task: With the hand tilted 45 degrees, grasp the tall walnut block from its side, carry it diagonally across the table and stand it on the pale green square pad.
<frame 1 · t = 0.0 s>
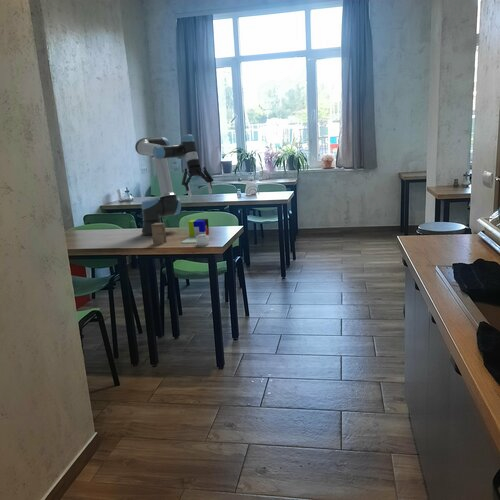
hand: (200, 194, 277), 28 cm above the table, tool tilted 20°, fingers open, 13 cm apart
walnut block: (160, 243, 283), on the table
sugar bowl: (202, 244, 272), on the table
puzzle toy: (199, 235, 300), on the table
pad: (195, 240, 284), on the table
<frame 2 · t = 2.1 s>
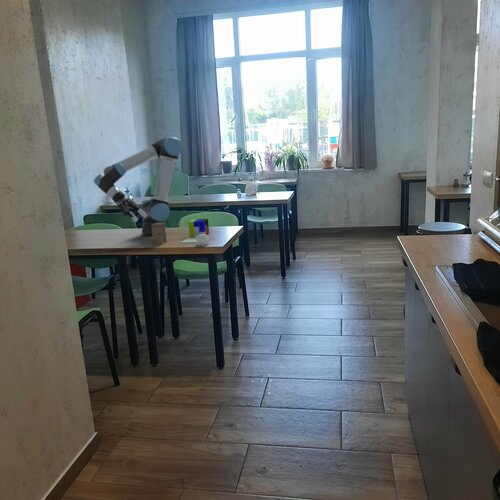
hand: (141, 218, 282), 15 cm above the table, tool tilted 45°, fingers open, 13 cm apart
nothing on the table moved.
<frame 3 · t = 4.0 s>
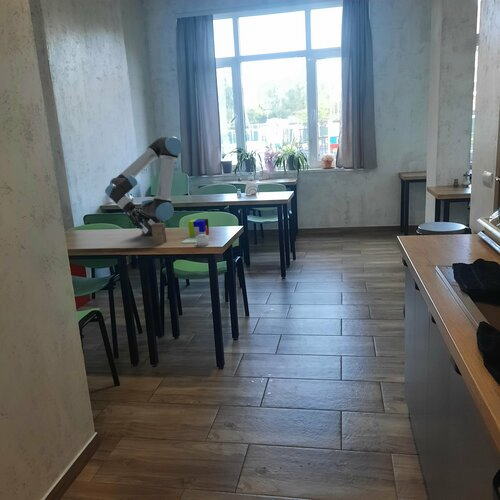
hand: (151, 229, 280), 9 cm above the table, tool tilted 45°, fingers open, 13 cm apart
nothing on the table moved.
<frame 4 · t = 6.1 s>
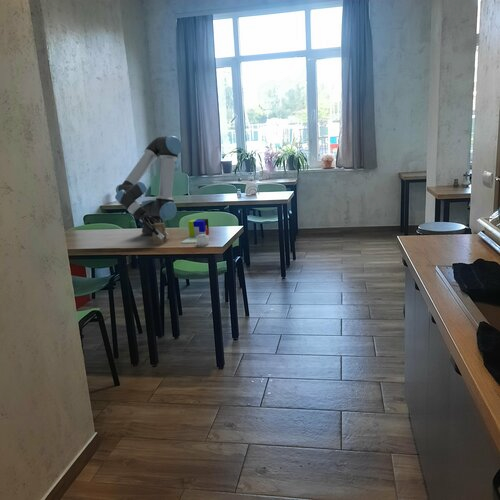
hand: (164, 236, 281), 4 cm above the table, tool tilted 45°, fingers closed on walnut block, 6 cm apart
walnut block: (160, 243, 283), on the table, touching gripper
everything else where it was.
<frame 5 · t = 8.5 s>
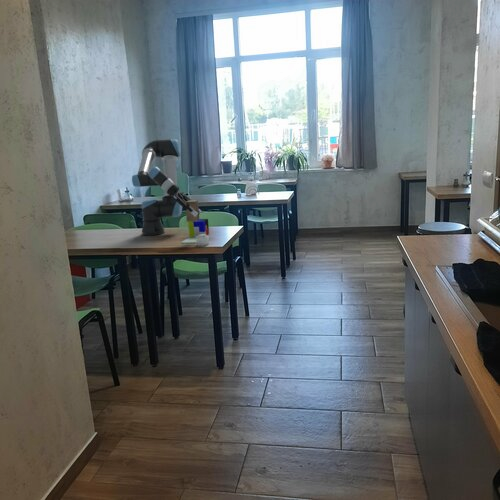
hand: (198, 214, 279), 16 cm above the table, tool tilted 45°, fingers closed on walnut block, 6 cm apart
walnut block: (193, 220, 281), point 12 cm above the table, touching gripper
everything else where it was.
when the fingers open (5 cm above the table, at t = 10.9 s): walnut block stays where it is, resting on pad.
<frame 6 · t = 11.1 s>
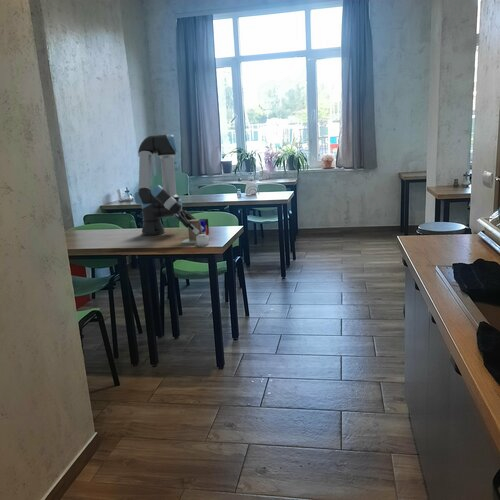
hand: (200, 231, 282), 6 cm above the table, tool tilted 45°, fingers open, 8 cm apart
walnut block: (195, 239, 284), point 1 cm above the table, touching pad
everything else where it was.
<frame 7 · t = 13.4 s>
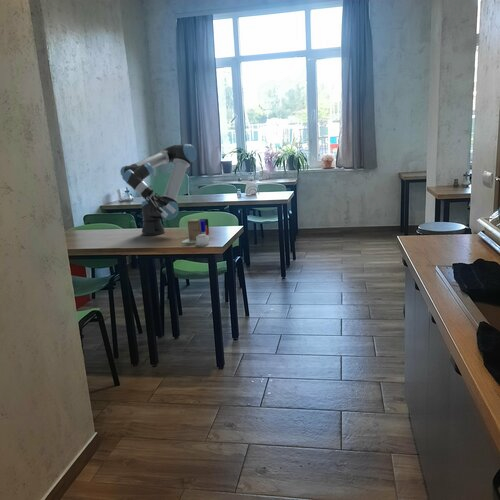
hand: (170, 214, 282), 17 cm above the table, tool tilted 45°, fingers open, 13 cm apart
nothing on the table moved.
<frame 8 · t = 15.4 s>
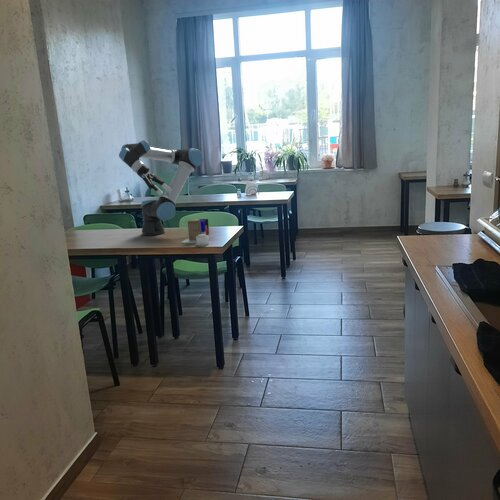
hand: (166, 192, 282), 30 cm above the table, tool tilted 45°, fingers open, 13 cm apart
nothing on the table moved.
at the end: walnut block inside the target area on the pad (0.1 cm from its centre), point 0.6 cm above the pad's base; walnut block tilted 0°; sugar bowl moved 0.1 cm from its start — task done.
